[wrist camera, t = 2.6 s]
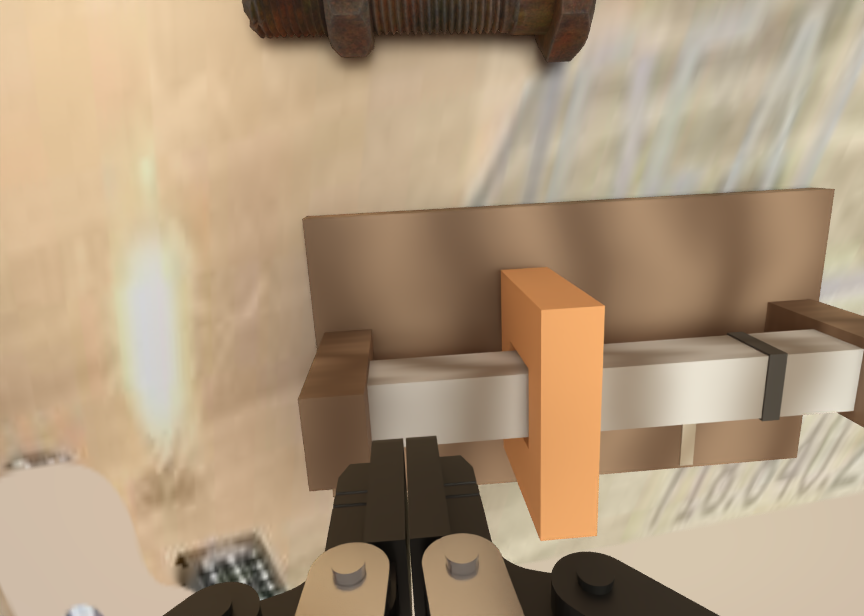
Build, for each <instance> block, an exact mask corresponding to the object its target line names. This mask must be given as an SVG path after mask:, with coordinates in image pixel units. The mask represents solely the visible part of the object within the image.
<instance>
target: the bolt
mask: <svg viewBox="0 0 864 616" xmlns="http://www.w3.org/2000/svg"><path fill="white" fill-rule="evenodd" d="M242 3H243V8H244V12H245V13H246V15H247V16H248V18H249V19H250V27H251V28H252V30H253V31H255V32H256V33H257V34H258V35H259V36H260V37H261V38H264V37H265V36H267V37H268V38H272V37H273V36H274V37H276V38H278V37H279V36H280V35H281V36H282V37H283V38H284V37H286V36H287V34H288V36H290V37H293V36H294V34H295V35H296V36H297V37H300V36H301V35H302V34H303V35H304V36H305V37H307V36H308V35H309V34H310V35H311V36H313V37H314V36H315V35H316V34H318V35H319V36H320V37H321V36H322V35H323V34H324V33H325V34H326V36H327V37H329V40H330V44H331V46H332V48H333V49H334V50H335V51H336V52H337V53H338V54H339V55H340V56H341V57H360V56H366V55H367V54H369V53H370V52H371V51H372V50H373V49H374V42H375V32H376V33H377V34H378V35H380V34H381V32H382V31H383V32H384V34H385V35H387V34H388V33H389V31H390V32H391V33H392V34H393V36H394V34H395V33H396V31H398V33H399V34H400V35H401V34H402V33H403V31H405V32H406V34H407V35H409V33H410V32H411V30H412V32H413V33H414V34H415V35H416V34H417V32H418V31H420V32H421V34H422V35H424V33H425V31H426V30H427V32H428V33H429V35H431V33H432V31H433V30H434V32H435V33H436V35H438V33H439V31H440V30H441V31H442V33H443V34H445V33H446V31H447V30H448V31H449V32H450V34H452V33H453V31H454V29H455V31H456V32H457V34H460V32H461V30H463V32H464V33H465V34H467V32H468V30H470V32H471V33H472V34H474V33H475V30H476V29H477V31H478V33H479V34H481V33H482V31H483V29H484V31H485V32H486V34H488V33H489V32H490V29H491V31H492V32H493V33H496V32H497V30H499V32H500V33H509V34H510V35H536V42H537V44H538V46H539V48H540V50H541V52H542V54H543V56H544V58H545V60H546V62H565V61H571V60H572V59H573V58H574V57H575V56H576V54H577V53H578V52H579V51H580V50H581V49H582V47H583V46H584V44H585V42H586V40H587V38H588V35H589V31H590V27H591V23H592V19H593V14H594V10H595V4H596V0H242Z"/></svg>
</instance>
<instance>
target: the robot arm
mask: <svg viewBox="0 0 864 616" xmlns="http://www.w3.org/2000/svg"><path fill="white" fill-rule="evenodd" d="M406 460H407V483H406V470H405V456H404V443H403V438H399V439H386V440H373V441H372V446H371V457H370V463H357V464H350V465H349V466H348V467H347V468H346V469H345V470H344V472H343V473H342V474H341V475H340V476H339V478H338V482H337V488H336V496H335V499H334V504H333V510H332V515H331V521H330V526H329V532H328V537H327V543H326V548H325V552H324V553H323V554H321V555H320V556H319V557H318V558H317V559H316V560H315V561H314V562H313V564H312V565H311V567H310V570H309V572H308V575H307V578H306V581H305V582H304V583H302V584H301V585H299V586H298V587H296V588H294V589H292V590H289V591H287V592H284V593H282V594H279V595H276V596H273V597H270V598H267V599H264V600H261V601H260V599H259V596H258V594H257V592H256V591H255V590H254V589H253V588H252V587H251V586H249V585H246V584H243V583H239V582H224V583H219V584H215V585H211V586H209V587H206V588H204V589H202V590H200V591H198V592H196V593H194V594H193V595H191V596H190V597H188V598H187V599H185V600H184V601H183V602H181V603H180V604H178V605H177V606H176V607H174V608H173V609H171V610H170V611H169V612H167V613H166V614H165V615H163V616H412V594H411V593H412V592H411V569H412V583H413V596H414V611H415V616H719V615H717V614H715V613H713V612H712V611H710V610H708V609H706V608H704V607H703V606H701V605H699V604H697V603H695V602H693V601H692V600H690V599H688V598H686V597H684V596H683V595H681V594H679V593H677V592H675V591H674V590H672V589H670V588H668V587H666V586H664V585H663V584H661V583H659V582H657V581H655V580H653V579H652V578H650V577H648V576H646V575H644V574H643V573H641V572H639V571H637V570H635V569H633V568H632V567H630V566H628V565H626V564H624V563H623V562H621V561H619V560H617V559H615V558H612V557H611V556H608V555H605V554H601V553H596V552H577V553H572V554H569V555H567V556H565V557H563V558H561V559H560V560H559V561H558V562H557V563H556V564H555V566H554V568H553V570H552V573H547V572H541V571H535V570H529V569H525V568H522V567H519V566H517V565H515V564H513V563H511V562H509V561H507V560H506V559H504V558H503V557H502V555H501V553H500V551H499V549H498V548H497V547H496V546H495V545H494V544H493V543H492V541H491V537H490V533H489V529H488V525H487V521H486V517H485V513H484V509H483V505H482V501H481V497H480V494H479V489H478V485H477V482H476V477H475V473H474V469H473V466H472V465H471V464H469V463H468V462H467V461H466V460H465V459H464V458H463V457H462V456H461V455H456V456H444V457H440V456H439V450H438V443H437V436H423V437H410V438H406ZM407 489H408V497H407ZM410 556H411V564H410Z"/></svg>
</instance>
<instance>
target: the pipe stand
mask: <svg viewBox="0 0 864 616" xmlns="http://www.w3.org/2000/svg"><path fill="white" fill-rule="evenodd" d="M834 190H835V189H825V188H802V189H784V190H766V191H749V192H731V193H713V194H695V195H677V196H660V197H642V198H624V199H606V200H589V201H571V202H553V203H535V204H518V205H500V206H482V207H464V208H447V209H429V210H411V211H393V212H376V213H358V214H340V215H322V216H307V217H305V218H304V219H303V228H304V237H305V246H306V255H307V264H308V273H309V282H310V291H311V300H312V309H313V318H314V327H315V336H316V345H317V353H316V355H315V358H314V360H313V363H312V365H311V368H310V370H309V373H308V375H307V378H306V380H305V383H304V385H303V388H302V390H301V393H300V395H299V398H298V404H299V412H300V420H301V428H302V436H303V444H304V452H305V460H306V468H307V476H308V484H309V491H318V490H330V489H333V497H335V496H336V488H337V482H338V478H339V476H340V475H341V474H342V473H343V472H344V470H345V469H346V468H347V467H348V466H349V465H350V464H357V463H370V457H371V446H372V441H373V440H386V439H399V438H403V443H404V456H405V470H406V483H407V460H406V438H410V437H423V436H437V443H438V450H439V456H440V457H444V456H456V455H461V456H462V457H463V458H464V459H465V460H466V461H467V462H468V463H469V464H471V465H472V466H473V469H474V473H475V477H476V482H477V485H481V484H493V483H505V482H517V480H516V477H515V474H514V472H513V469H512V467H511V464H510V462H509V459H508V457H507V454H506V452H505V449H504V442H503V439H510V438H523V437H529V375H528V367H527V366H526V364H525V363H524V361H523V360H522V358H521V357H520V355H519V354H518V352H517V351H516V350H514V351H502V322H501V270H507V269H522V268H538V267H548V268H550V269H551V270H552V271H554V272H555V273H557V274H558V275H560V276H561V277H563V278H564V279H566V280H567V281H569V282H570V283H572V284H573V285H575V286H576V287H578V288H579V289H581V290H582V291H584V292H585V293H587V294H588V295H590V296H591V297H593V298H594V299H596V300H597V301H599V302H600V303H602V304H603V305H604V306H605V319H604V348H603V376H602V405H601V433H600V461H599V474H611V473H622V472H634V471H646V470H658V469H670V468H681V467H693V466H705V465H717V464H728V463H740V462H752V461H764V460H775V459H787V458H797V451H798V444H799V437H800V430H801V423H802V416H803V415H809V414H821V413H833V412H837V413H839V414H841V415H842V416H844V417H846V418H848V419H850V420H851V421H853V422H855V423H857V424H858V425H860V426H862V427H864V316H861V315H858V314H855V313H852V312H849V311H846V310H843V309H839V308H836V307H833V306H830V305H827V304H824V303H821V302H819V296H820V289H821V282H822V275H823V268H824V261H825V254H826V247H827V240H828V233H829V226H830V219H831V212H832V205H833V197H834ZM407 491H408V489H407Z"/></svg>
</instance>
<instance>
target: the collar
mask: <svg viewBox="0 0 864 616" xmlns="http://www.w3.org/2000/svg"><path fill="white" fill-rule="evenodd" d="M604 319H605V306H604V305H603V304H602V303H600V302H599V301H597V300H596V299H594V298H593V297H591V296H590V295H588V294H587V293H585V292H584V291H582V290H581V289H579V288H578V287H576V286H575V285H573V284H572V283H570V282H569V281H567V280H566V279H564V278H563V277H561V276H560V275H558V274H557V273H555V272H554V271H552V270H551V269H550V268H548V267H538V268H522V269H507V270H501V322H502V351H514V350H516V351H517V352H518V354H519V355H520V357H521V358H522V360H523V361H524V363H525V364H526V366H527V367H528V375H529V437H523V438H510V439H503V442H504V449H505V452H506V454H507V457H508V459H509V462H510V464H511V467H512V469H513V472H514V474H515V477H516V480H517V482H518V485H519V487H520V490H521V492H522V495H523V497H524V500H525V502H526V505H527V508H528V510H529V513H530V515H531V518H532V520H533V523H534V525H535V528H536V530H537V533H538V536H539V538H540V541H544V540H555V539H566V538H577V537H588V536H597V518H598V490H599V461H600V433H601V405H602V376H603V348H604Z"/></svg>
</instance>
